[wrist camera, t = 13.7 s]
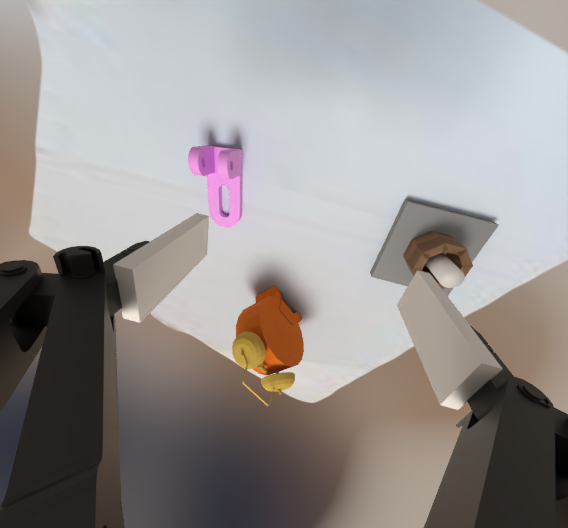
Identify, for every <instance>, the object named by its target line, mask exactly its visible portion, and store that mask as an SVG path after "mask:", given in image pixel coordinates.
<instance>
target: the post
mask: <svg viewBox="0 0 568 528" xmlns="http://www.w3.org/2000/svg"><path fill="white" fill-rule="evenodd" d="M497 227H498V224H496V223H494V222H492V221H488V220H484V219H480V218H476V217H472V216H468V215H464V214H460V213H456V212H452V211H448V210H444V209H440V208H436V207H432V206H428V205H424V204H420V203H416V202H412V201H408V200H404V203H403V205H402V207H401V209H400V211H399V213H398V215H397V217H396V219H395V221H394V224H393V226H392V228H391V230H390V232H389V234H388V236H387V238H386V240H385V243H384V245H383V247H382V249H381V251H380V253H379V255H378V257H377V259H376V261H375V264H374V266H373V268H372V270H371V272H370V273H371V276H372V277H374V278H378V279H382V280H386V281H390V282H394V283H397V284H401V285H405V286H408V285H409V284H410V282H411V280H412V279H413V277H414V276H413V274H412V273H411V271H410V270H409V268H408V266H407V263H406V261H405V259H404V257H403V254H404V253H405V251H406V249H407V247H408V245H409V243H410V241H411V240H412V239H414V238H416V237H418V236H421V235H423V234H425V233H428V232H430V231H434V232H438V233H442V234H446V235H450V236H451V237H453V238H454V239H455V240H456V241H458V242H459V243H460V244H462V245H463V246H464V247H465V248H467V250H468V253H469V256H470V259H471V262H472V261H473V260H474V259H475V257H476V256H477V254H478V253H479V252H480V250H481V249H482V248H483V246H484V245H485V243H486V242H487V241H488V239H489V238H490V236H491V235H492V234H493V232H494V231H495V229H496V228H497ZM446 253H447V252H442V253H440V254H437V255H435V256H432V257H430V258H429V259H428V260H427V262H426V264H425V265H424V267H428V268H429V270H430V271H431V272H432V274H433V275H434V276H435V277H436V279H437V280H438V281H439V283H440V284H441V285H442V286H443V287H446V288H444V289H442V290H443V291H444V293H445V294H446V295H447V296H448V295H449V293H450V292H451V291H452V289H453V288H454V287H456V286H458V285H460V284H461V283H462V282H463V280H464V277H465V276H464V273H463V272H462V271H461V270H460V269H459V268H458V267H457V266H456V265H455V264H454V263H453V262H452V261H451V260H450V259H449V258H448V257H447V256H446V255H445V254H446Z"/></svg>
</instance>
